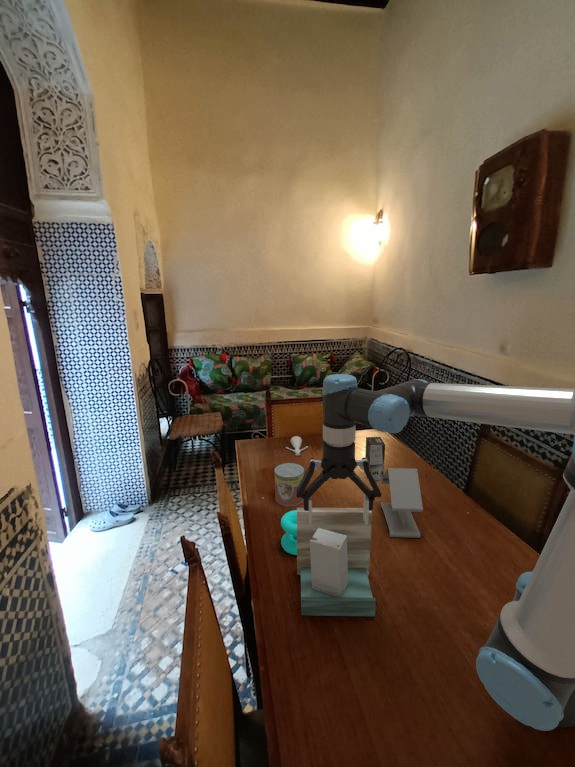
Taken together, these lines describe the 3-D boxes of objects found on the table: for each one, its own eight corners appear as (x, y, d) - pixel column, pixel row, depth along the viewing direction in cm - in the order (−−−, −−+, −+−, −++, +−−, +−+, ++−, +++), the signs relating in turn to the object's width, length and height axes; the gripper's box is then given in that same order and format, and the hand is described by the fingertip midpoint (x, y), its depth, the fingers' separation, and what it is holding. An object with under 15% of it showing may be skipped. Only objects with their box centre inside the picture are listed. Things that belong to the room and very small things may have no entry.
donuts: (274, 520, 108) (292, 504, 116) (274, 548, 111) (292, 531, 119) (302, 532, 103) (319, 514, 111) (302, 561, 105) (319, 542, 113)
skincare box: (348, 584, 94) (349, 535, 90) (340, 601, 88) (341, 550, 85) (318, 573, 97) (318, 525, 94) (309, 589, 92) (309, 539, 89)
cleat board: (379, 616, 87) (383, 545, 82) (297, 615, 88) (296, 545, 83) (367, 570, 102) (370, 508, 97) (297, 569, 102) (296, 507, 97)
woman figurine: (306, 433, 190) (309, 450, 173) (306, 441, 191) (309, 458, 174) (284, 434, 190) (285, 451, 172) (285, 442, 191) (285, 459, 174)
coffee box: (383, 480, 150) (385, 445, 146) (368, 480, 150) (370, 445, 146) (378, 470, 159) (380, 436, 155) (364, 470, 159) (365, 436, 155)
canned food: (270, 503, 135) (270, 474, 132) (280, 488, 145) (279, 461, 142) (299, 508, 131) (299, 478, 128) (307, 492, 142) (307, 465, 139)
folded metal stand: (420, 539, 114) (425, 482, 109) (390, 538, 115) (393, 482, 110) (406, 506, 132) (409, 456, 127) (380, 505, 133) (382, 455, 128)
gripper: (388, 434, 86) (385, 512, 91) (285, 435, 87) (287, 512, 92) (397, 446, 79) (392, 530, 84) (284, 447, 80) (286, 530, 85)
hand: (337, 521), depth 88 cm, fingers open, 13 cm apart
